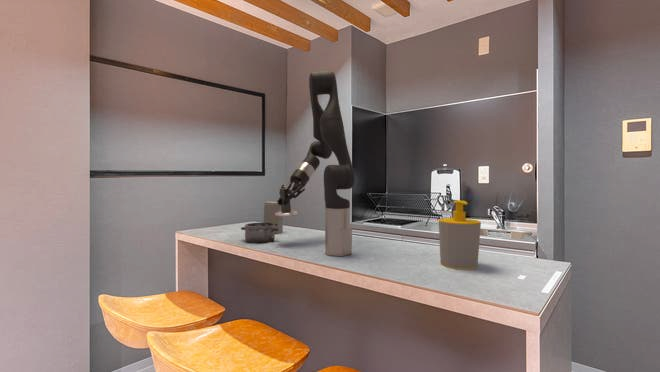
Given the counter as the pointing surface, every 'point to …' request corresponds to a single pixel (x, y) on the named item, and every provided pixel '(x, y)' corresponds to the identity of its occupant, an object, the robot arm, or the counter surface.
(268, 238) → the pot
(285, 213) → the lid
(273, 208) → the skincare box
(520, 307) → the counter surface
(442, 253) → the soap bottle
